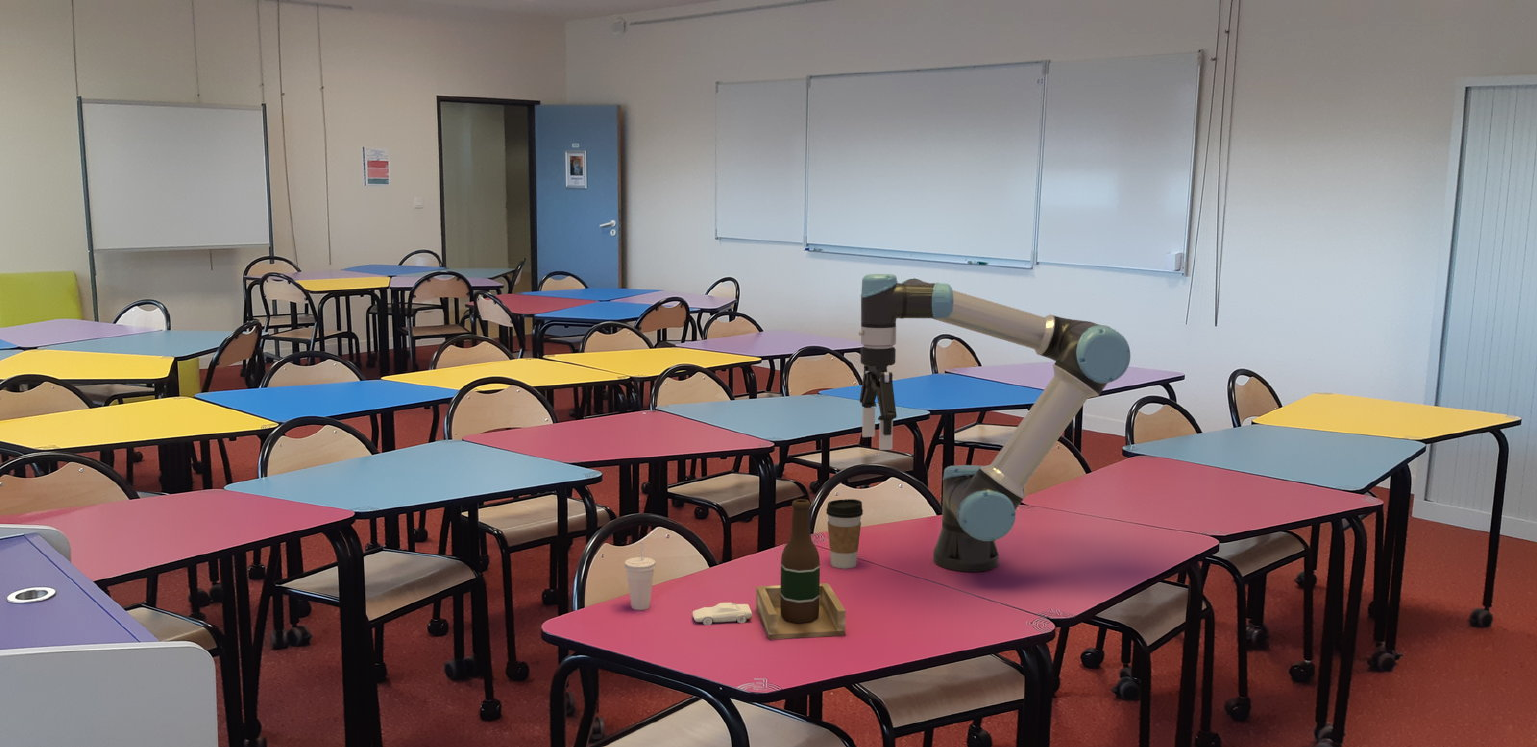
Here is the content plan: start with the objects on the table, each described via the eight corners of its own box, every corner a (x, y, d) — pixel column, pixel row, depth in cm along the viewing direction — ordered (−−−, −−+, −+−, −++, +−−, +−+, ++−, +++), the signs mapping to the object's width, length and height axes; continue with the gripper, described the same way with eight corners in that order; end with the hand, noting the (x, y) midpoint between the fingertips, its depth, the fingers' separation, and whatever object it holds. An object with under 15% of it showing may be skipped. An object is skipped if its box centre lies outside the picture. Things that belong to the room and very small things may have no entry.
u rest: (827, 606, 228) (827, 582, 227) (845, 635, 212) (845, 610, 212) (756, 609, 226) (756, 586, 225) (768, 639, 210) (769, 614, 209)
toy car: (691, 617, 222) (691, 601, 222) (749, 614, 224) (750, 598, 224) (694, 627, 217) (694, 611, 216) (754, 623, 219) (754, 607, 218)
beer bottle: (820, 611, 222) (822, 496, 219) (817, 625, 215) (819, 506, 211) (782, 609, 223) (783, 494, 220) (778, 623, 215) (779, 505, 212)
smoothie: (662, 606, 227) (662, 541, 225) (638, 614, 222) (638, 548, 220) (642, 598, 231) (641, 534, 229) (618, 606, 227) (617, 541, 224)
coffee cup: (862, 570, 251) (864, 507, 249) (826, 570, 251) (827, 506, 249) (860, 559, 259) (861, 497, 257) (824, 558, 259) (825, 497, 257)
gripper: (846, 339, 247) (846, 432, 250) (877, 354, 223) (875, 456, 226) (878, 339, 248) (877, 430, 252) (912, 353, 224) (910, 454, 227)
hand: (876, 442), depth 239 cm, fingers open, 13 cm apart
